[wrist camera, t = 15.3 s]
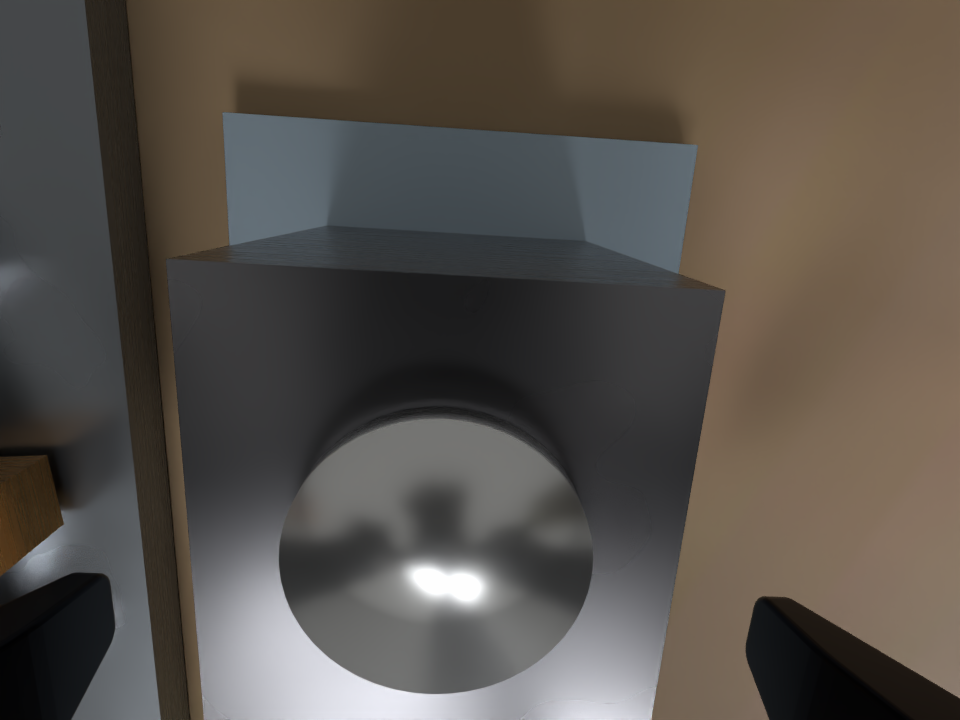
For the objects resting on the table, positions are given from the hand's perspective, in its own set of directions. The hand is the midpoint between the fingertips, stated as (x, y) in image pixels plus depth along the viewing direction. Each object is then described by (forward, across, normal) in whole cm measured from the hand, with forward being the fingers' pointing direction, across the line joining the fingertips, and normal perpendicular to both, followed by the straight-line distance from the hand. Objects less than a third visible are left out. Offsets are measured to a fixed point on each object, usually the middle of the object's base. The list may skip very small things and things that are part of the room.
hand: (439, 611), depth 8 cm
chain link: (+2, 0, 0) cm, 2 cm away
